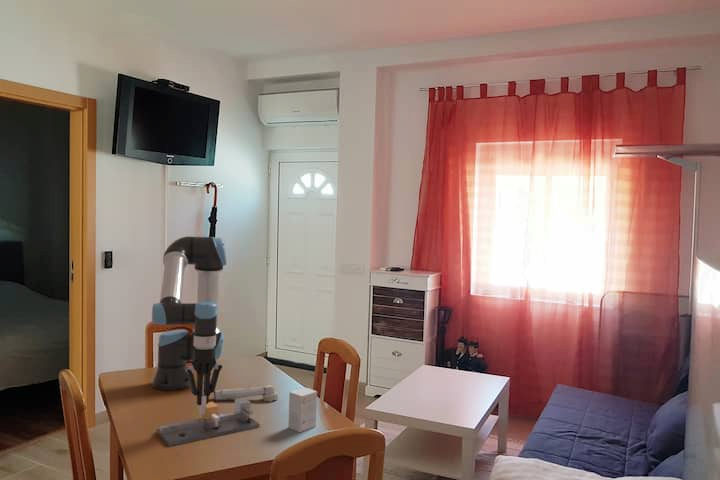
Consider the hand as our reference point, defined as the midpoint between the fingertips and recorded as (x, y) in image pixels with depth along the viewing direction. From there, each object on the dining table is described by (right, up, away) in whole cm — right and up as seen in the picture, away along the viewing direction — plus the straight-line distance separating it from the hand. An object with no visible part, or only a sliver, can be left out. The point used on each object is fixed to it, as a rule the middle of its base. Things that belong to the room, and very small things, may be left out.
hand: (202, 413), depth 195 cm
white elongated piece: (+9, -4, +30) cm, 32 cm away
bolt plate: (+3, -5, -2) cm, 6 cm away
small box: (+34, -7, +5) cm, 35 cm away
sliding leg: (+3, -3, 0) cm, 5 cm away
